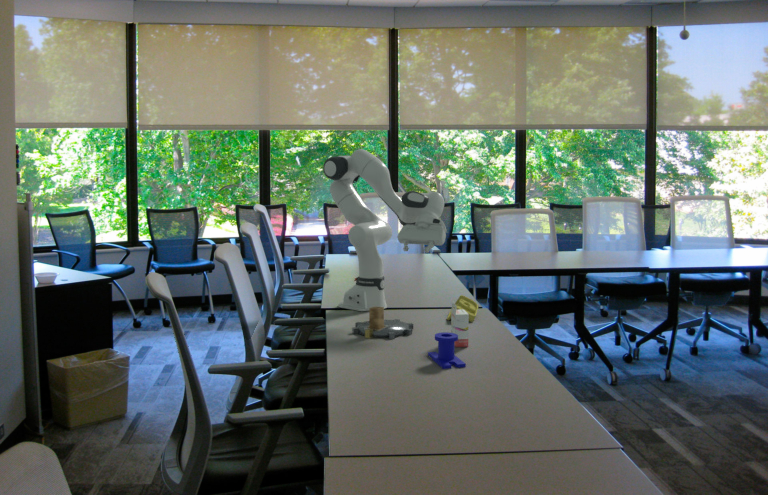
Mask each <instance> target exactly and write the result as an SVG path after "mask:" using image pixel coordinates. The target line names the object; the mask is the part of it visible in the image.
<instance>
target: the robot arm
mask: <svg viewBox="0 0 768 495" xmlns="http://www.w3.org/2000/svg"><path fill="white" fill-rule="evenodd" d="M322 170H323V174H324V175H325V177H326V178H327V179H329V180H331V181H333V182H331V183H330V186H329V192H330V194H331V198H332V200H333V201H334V203H335V205H336V206H337V208H338V210H340V212H341V214H342V215H343V218H345V220H346V221H347V222H349V223H350V224H352V225H353V226H351V227H350V229H349V231H348V235H347V236H348V241H349V243H350V245H352V246H353V247H354V249H355V252H356V255H357V260H358V261H357V262H358V276H357V277H356V278H354V279H353V282H355V284H354V285H353V286H352V287H350V288H349V289H348V290H347V291H346V292H345V293H344V294H343V300H342V302H340V303H339V304H338V308H342V309H347V310H352V311H359V312H367V311H368V312H369V308H372V307H374V306H376V307H384V310H385V309H387V308H388V304H387V301H386V297H385V296H386V295H385V276H384V259H383V257H382V256H381V255H380V253H379V250H378V246H380V245H384V244H385V243H387V242H389V241H390V240H391V239H392V237H393V228H392V227H391V225H390V224H389V223H388V222H386V221H384V220H382V219H381V218H380V217H379V216H378V215H377V214H376V213H374V211H372V210H371V209H370V208H369V206H367V204H366V203H365V201H364V200H363V198H362V197H361V196H360V194H359V193H358V191H357V190H356V189H355V187H354V184H355V183H357V182H358V181H359V179H360V178H362V179H363V180H364V181H365V182H366V183H367V184H368V185H369V186H370V187H371V188H372V190H373V191H374V192H375V194H376V195H378V197H379V198H380V200H381V201H382V202H384V204H385V205H386V206H387V207H388V208H389V209H390V210H391V211H392V212H393V213H394V214H395V216H396V218H397V219H398V222H399V224H401V225H402V227H401V228H400V231H399V232H398V234H397V236H396V238H397V241H398V242H399V244H403V248H402V250H403V251H404V252H409V249H410V247H409V245H421V246H422V245H424V250H423V251H424V253H426V254H427V253H430V250H432V249H434V247H435V246H439V247H440V246H443V245H444V244H445V242H446V238H447V234H446V233H447V231H448V229H447V227H446V224H445V222H444V221H443V220H442V219H440V218H441V216H442V214H443V211H444V208H445V199H444V197H443V196H442V194H441V193H439V192H438V191H430V192H429V191H428V192H418V191H416V190H415V191H414V190H409V191H407V192H404V194H402V195H401V198H400V196H399V195H397V193H396V192H395V190H394V189H393V185H392V181H391V174H390V170H389V168H388V167H387V165H386V164H385V163H384V161H382V160H380V158H378V157H377V156H376V155H374V154H373V153H371V152H370V151H368V150H366V149H363V148H359V149H356V150H354V152H352V154H351V155H338V156H337V155H334V156H331V157H329V158H327V159H326V160H325V161H324V163H323V166H322Z"/></svg>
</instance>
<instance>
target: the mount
mask: <svg viewBox="0 0 768 495" xmlns="http://www.w3.org/2000/svg"><path fill="white" fill-rule="evenodd" d="M434 340H435V341H436V342H437V345H438V346H437V351H427V356H428V357H429V356H430V357H431V358H432V359H431V358H430V357H429V358H430V359H431V360H432V361H433V362H435V363H436V364H437V365H438V366H439V367H440V368H441V367H442V368H441V369H442V370H446V369H447V370H450V369H452V366H454V367H456V369H457V368H459V369H460V368H466V365H467V364H466V363H465V361H463V360H462V359H461V358H459V357H458V356H457V355H456V354H455V346H454V342H455V341H457V340H458V335H457V334H455V333H451V332H437V333H435V334H434ZM449 368H450V369H449Z"/></svg>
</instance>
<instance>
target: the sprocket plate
mask: <svg viewBox="0 0 768 495" xmlns="http://www.w3.org/2000/svg"><path fill="white" fill-rule="evenodd" d="M354 325H355V327H351V330H352V331H351V332H352V334H353V335H357V334H358V335H361V336H364V338H365V339H372V338H376V339H377V338H378V339H382V338H383V339H386V338H387V339H389V340H392V339H394V340H395V338H397V337H402V336H405V335H406V336H411V335H413V330H414V323H412V322H411V323H410V322H409V323H407V322H405V321H400V319H398V318H395V319H384V328H382V329H373V328H370V327H369V320H367V321H363V322H362V321H356V322H355V324H354Z"/></svg>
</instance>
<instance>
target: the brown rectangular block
mask: <svg viewBox="0 0 768 495" xmlns="http://www.w3.org/2000/svg"><path fill="white" fill-rule="evenodd" d="M384 311H385V309H384V307H376V306H374V307H372V308H369V311H368V315H369V318H368V319H369V320H368V321H369V327H370V328H373V329H382V328H384V320H385V319H384V318H385V314H384V313H385V312H384Z"/></svg>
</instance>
